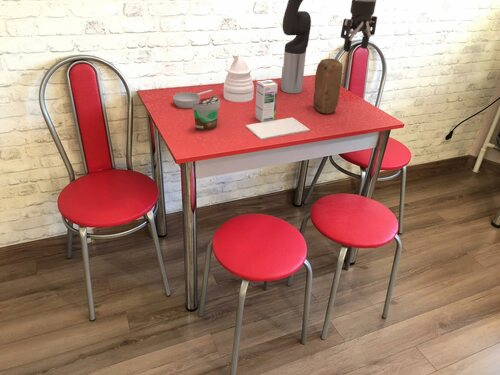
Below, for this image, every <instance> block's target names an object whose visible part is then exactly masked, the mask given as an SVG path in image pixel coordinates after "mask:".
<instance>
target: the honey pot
mask: <svg viewBox="0 0 500 375" xmlns="http://www.w3.org/2000/svg"><path fill="white" fill-rule="evenodd" d="M232 59H234V60H233V61H232V62H231V66H229V67H227V69H226V71H227V75H226V77H225V79H224V83H223V98H224V99H225V100H227V101H229V102H234V103H245V102H250V101H252V100H253V99H254V96H255V95H254V94H255V92H254V91H255V88H254V87H255V86H254V85H255V84H254V83H253V78H252V75H251V72H252V69H251V68H250V67H248V65H247V62H246V61H245V60H244V59H243V57H241V56H240V54H237V53H234V54H233V53H232Z"/></svg>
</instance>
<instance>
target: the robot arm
mask: <svg viewBox="0 0 500 375" xmlns="http://www.w3.org/2000/svg"><path fill="white" fill-rule="evenodd" d="M303 1H304V0H287V4H286V7H285V12H284V15H283V18H282V31H283V33H284V35H286V36H295V37H294V38H293V39H292V40H290V41H288V42H286V44H284V45H285V46H284V54H283V66H282V69H281V79H280V81H281V82H280V88H281V91H282V92H284V93H288V94H299V93H302V91H303V82H304V72H305V63H306V55H307V48H308V45H309V39H310V33H311V26H312V18H311V17H312V16H311V14H310V13H309V11H306V10H303V11H302V10H299V9H300V6H301V5H302V3H303ZM376 3H377V0H351V4H350V10H349V12H350V14H351V17H350V18H343V22H342V28H341V32H340V38H341V39H344V43H343V51H344V52H346V53H350V52H351V48H352V43H353V41H352V40H353V38H354V37H355V36H356V35H357V34H358V33H360V32H361V33H362V39H361V44H360V48H361V49H364V50H366V49H368V46H369V40H370V38H371V37H372V36H375V33H376V29H377V28H376V26H377V22H378V16H376V15H375V14H374V13H375V8H376V5H377V4H376Z"/></svg>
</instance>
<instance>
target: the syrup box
mask: <svg viewBox="0 0 500 375" xmlns="http://www.w3.org/2000/svg"><path fill="white" fill-rule="evenodd" d="M278 87H279V86H278V83H277V82H276V81H275V80H271V79H268V80H257V81H256V92H255V93H256V96H255V119H257V120H258V121H259V123H262V122H268V121H274V120H276V115H277V114H276V113H277V98H278Z"/></svg>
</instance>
